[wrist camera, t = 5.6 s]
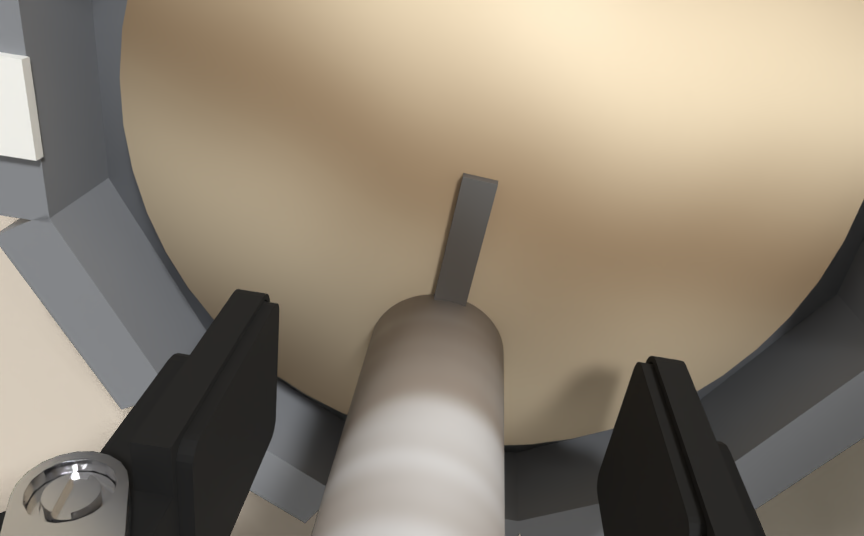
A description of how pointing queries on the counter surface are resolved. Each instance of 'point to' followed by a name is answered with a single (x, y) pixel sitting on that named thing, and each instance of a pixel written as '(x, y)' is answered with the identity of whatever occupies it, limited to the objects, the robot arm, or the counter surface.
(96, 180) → the dial housing
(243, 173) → the dial
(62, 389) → the counter surface
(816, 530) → the counter surface
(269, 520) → the counter surface
